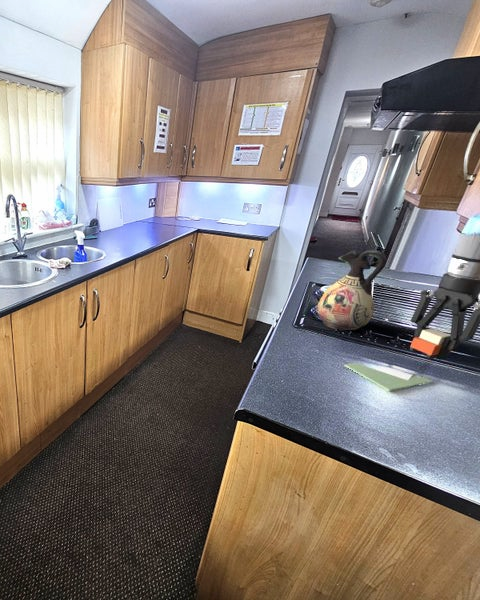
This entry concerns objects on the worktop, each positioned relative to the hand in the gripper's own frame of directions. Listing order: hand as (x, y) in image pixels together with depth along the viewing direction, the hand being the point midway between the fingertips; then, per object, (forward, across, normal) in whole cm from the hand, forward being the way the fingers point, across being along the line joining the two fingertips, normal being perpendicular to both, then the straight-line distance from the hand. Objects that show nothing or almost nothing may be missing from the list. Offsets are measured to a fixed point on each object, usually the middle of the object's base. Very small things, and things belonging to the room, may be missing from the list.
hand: (428, 353), depth 93 cm
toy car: (0, 0, 0) cm, 0 cm away
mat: (+5, 0, -13) cm, 14 cm away
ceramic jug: (+5, -25, +1) cm, 26 cm away
